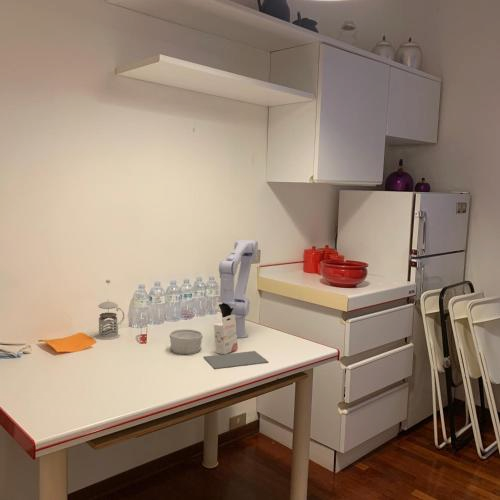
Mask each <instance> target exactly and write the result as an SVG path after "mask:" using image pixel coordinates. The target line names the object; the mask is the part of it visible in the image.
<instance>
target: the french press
mask: <svg viewBox="0 0 500 500" xmlns="http://www.w3.org/2000/svg"><path fill="white" fill-rule="evenodd" d="M105 283H106V284H111V280H110V279H106V280H105ZM98 308H99V309H103V310H111V309H116V312H119V311H121V312H122V315H125V313H124V311H123V310H122V309H121V308H120V307H119V306H118V303H116V302H114V301H109V300H107V301H105V302H101V303H100V304H98ZM117 315H118V314H117V313H115V312H102V313H100V314H99V317H98V334H97V335H96V336H95V337H96V339H98V340H101V341H113V340H116V339H119V338H120V334H119V325H121V324H122V323H123V322H124V320H125V316H122V318H121V320H120V321H119V322H118V316H117Z"/></svg>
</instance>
